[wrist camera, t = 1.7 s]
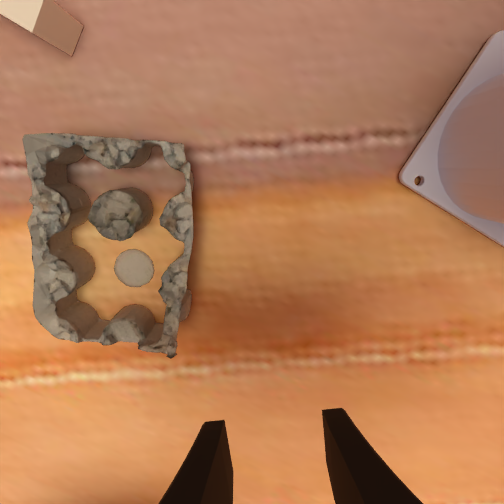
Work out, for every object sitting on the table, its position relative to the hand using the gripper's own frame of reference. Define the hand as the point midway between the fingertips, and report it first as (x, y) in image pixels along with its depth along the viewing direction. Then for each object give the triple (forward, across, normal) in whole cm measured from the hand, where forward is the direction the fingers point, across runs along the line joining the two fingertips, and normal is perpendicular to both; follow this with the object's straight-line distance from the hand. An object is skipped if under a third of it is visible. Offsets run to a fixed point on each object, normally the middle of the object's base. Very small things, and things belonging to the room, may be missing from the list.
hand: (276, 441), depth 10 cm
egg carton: (+10, +7, -5) cm, 13 cm away
